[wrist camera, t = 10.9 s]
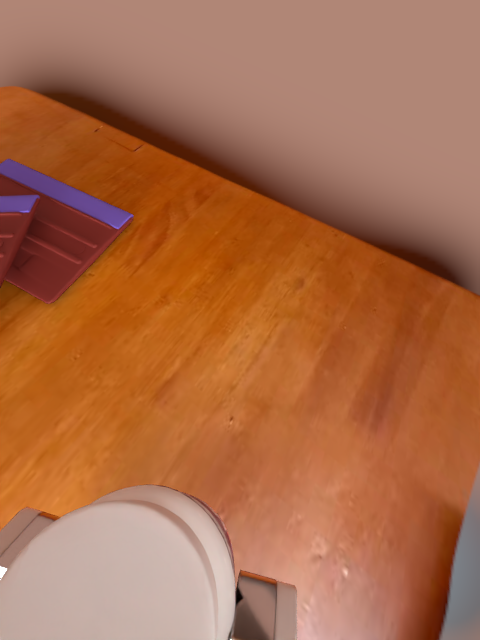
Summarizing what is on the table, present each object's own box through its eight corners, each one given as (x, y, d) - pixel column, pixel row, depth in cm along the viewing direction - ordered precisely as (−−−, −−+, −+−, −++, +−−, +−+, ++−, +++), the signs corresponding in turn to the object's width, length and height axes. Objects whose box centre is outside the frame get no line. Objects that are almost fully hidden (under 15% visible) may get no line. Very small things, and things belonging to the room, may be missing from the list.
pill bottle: (119, 672, 12) (-80, 960, 4) (100, 517, 14) (-53, 529, 6) (252, 614, 12) (279, 775, 5) (215, 476, 15) (196, 445, 7)
